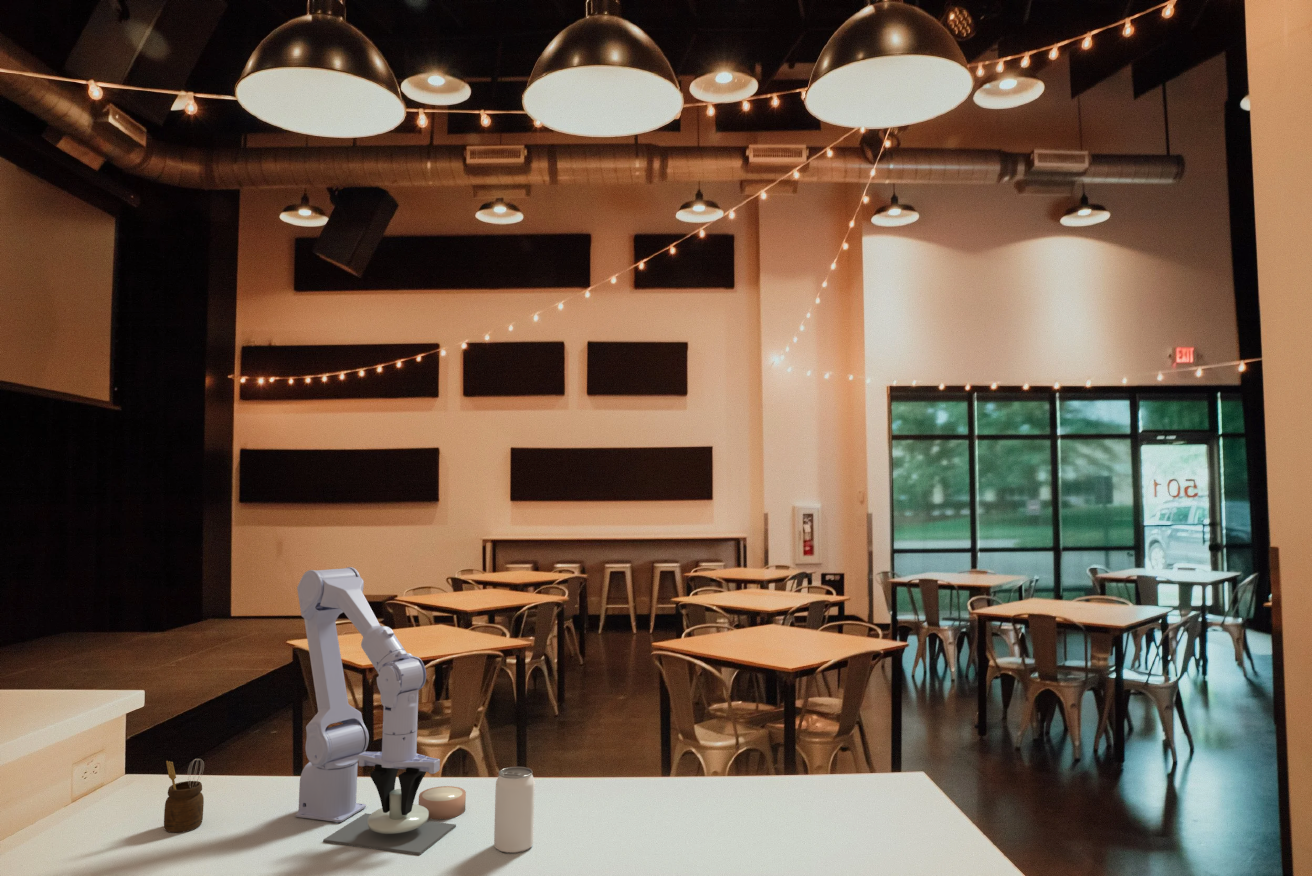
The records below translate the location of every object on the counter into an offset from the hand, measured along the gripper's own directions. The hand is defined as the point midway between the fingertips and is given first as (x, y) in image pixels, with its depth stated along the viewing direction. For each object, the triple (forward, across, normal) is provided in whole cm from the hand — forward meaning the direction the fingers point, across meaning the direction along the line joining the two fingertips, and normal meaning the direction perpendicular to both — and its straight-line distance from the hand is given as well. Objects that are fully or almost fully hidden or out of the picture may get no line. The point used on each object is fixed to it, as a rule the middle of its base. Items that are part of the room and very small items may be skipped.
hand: (397, 811), depth 142 cm
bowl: (+4, +2, +12) cm, 13 cm away
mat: (+4, -1, 0) cm, 4 cm away
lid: (+2, 0, 0) cm, 2 cm away
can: (+4, +21, +2) cm, 21 cm away
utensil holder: (+4, -37, -8) cm, 38 cm away
